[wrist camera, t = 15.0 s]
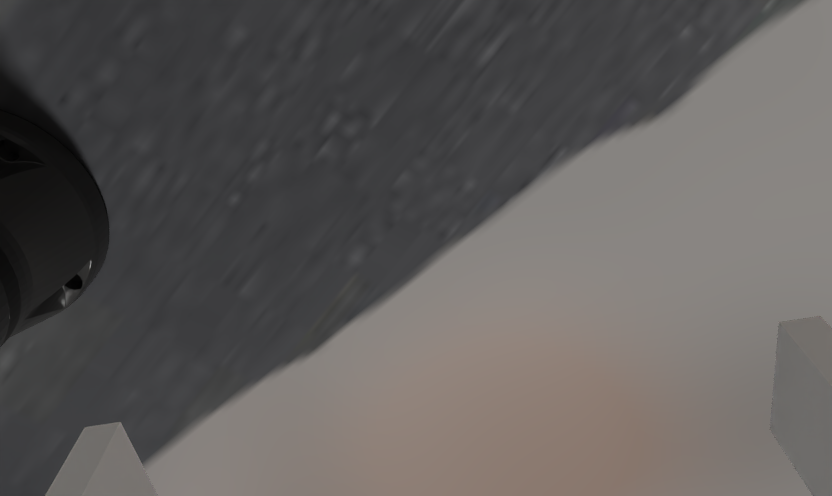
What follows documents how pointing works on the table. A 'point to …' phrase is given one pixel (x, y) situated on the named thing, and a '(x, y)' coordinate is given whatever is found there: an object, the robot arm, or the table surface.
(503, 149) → the table surface
